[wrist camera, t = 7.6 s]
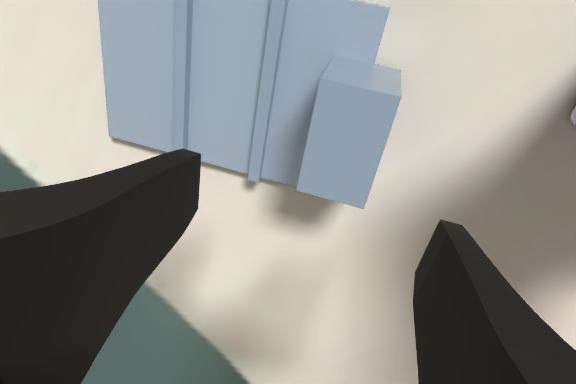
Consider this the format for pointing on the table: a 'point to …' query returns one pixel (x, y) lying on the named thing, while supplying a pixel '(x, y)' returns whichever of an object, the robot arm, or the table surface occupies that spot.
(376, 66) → the lid
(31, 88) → the table surface
